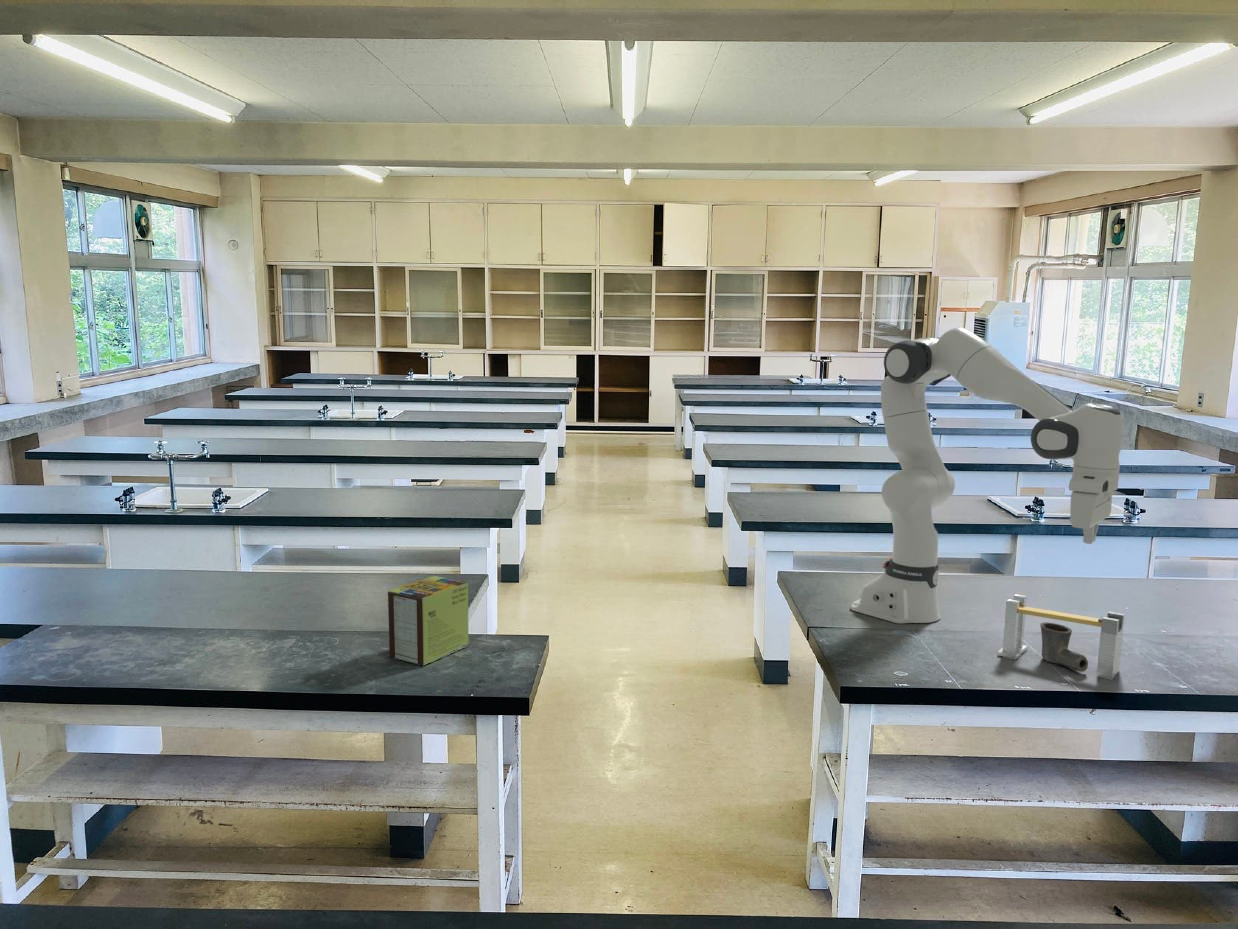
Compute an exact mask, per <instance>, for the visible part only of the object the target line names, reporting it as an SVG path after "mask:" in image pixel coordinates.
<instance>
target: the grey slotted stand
mask: <svg viewBox="0 0 1238 929" xmlns="http://www.w3.org/2000/svg"><path fill="white" fill-rule="evenodd" d="M1027 599H1028V598H1027V595H1022V594H1018V593H1015V594H1014V595H1013V599H1011V598H1010V599H1009V598H1008V599H1007V600H1006V601H1005V612H1004V613H1005V616H1004V626H1003V627H1004V628H1003V640H1002V647H1000V649H999V650H997V651H996V652H997V654H996V656H997V657H1000V656H1003V657H1002V658H1005V657H1006V658H1005V659H1010V660H1013V661H1014V660H1017V659H1018V658H1019V657H1021V656H1022V655H1023V654H1024V653H1025V652H1027V650H1028V645H1027V644H1024V635H1025V622H1026V614H1020V613H1019V605H1020V606H1025V607H1027ZM1022 653H1023V654H1022ZM1021 654H1022V655H1021Z"/></svg>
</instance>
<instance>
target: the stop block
mask: <svg viewBox="0 0 1238 929" xmlns="http://www.w3.org/2000/svg"><path fill="white" fill-rule="evenodd" d="M1108 617H1110V618H1108ZM1113 618H1116V619H1113ZM1124 623H1125V613H1121V612H1115V611H1110V610H1109V611H1108V612H1107V616H1104V617H1103V618H1102V625H1101V627H1100V636H1099V646H1098V657H1097V670H1096V677H1097V678H1101V679H1106V680H1110V681H1113V680H1114V678H1115V677H1116V676H1117V674H1119V672H1120V668H1121V667H1120V666H1121V657H1122V649H1123V648H1122V646H1123V634H1124Z"/></svg>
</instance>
